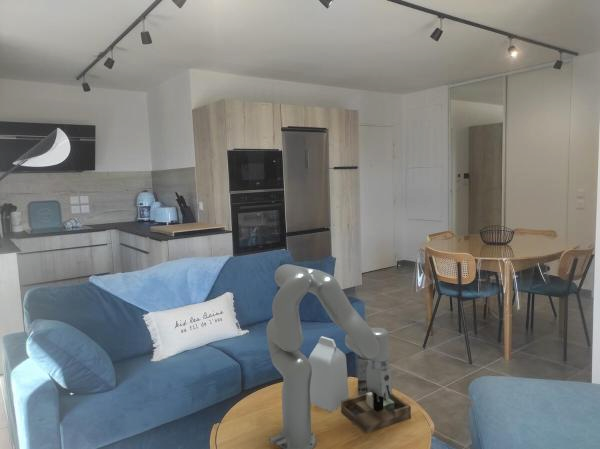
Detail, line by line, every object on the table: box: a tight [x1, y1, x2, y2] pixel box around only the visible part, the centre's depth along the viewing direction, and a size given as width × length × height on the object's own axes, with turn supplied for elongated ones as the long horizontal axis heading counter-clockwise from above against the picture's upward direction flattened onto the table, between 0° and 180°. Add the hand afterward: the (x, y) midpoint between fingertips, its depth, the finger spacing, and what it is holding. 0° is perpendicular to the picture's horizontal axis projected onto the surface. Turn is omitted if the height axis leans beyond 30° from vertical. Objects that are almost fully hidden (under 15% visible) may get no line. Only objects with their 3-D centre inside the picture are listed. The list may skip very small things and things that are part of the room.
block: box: [366, 392, 374, 409], centre depth 168 cm, size 4×4×4 cm
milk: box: [308, 335, 350, 413], centre depth 176 cm, size 12×12×26 cm
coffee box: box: [357, 354, 371, 396], centre depth 182 cm, size 9×6×16 cm
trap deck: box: [340, 392, 412, 434], centre depth 166 cm, size 20×16×4 cm
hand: (378, 409), depth 164 cm, fingers closed
